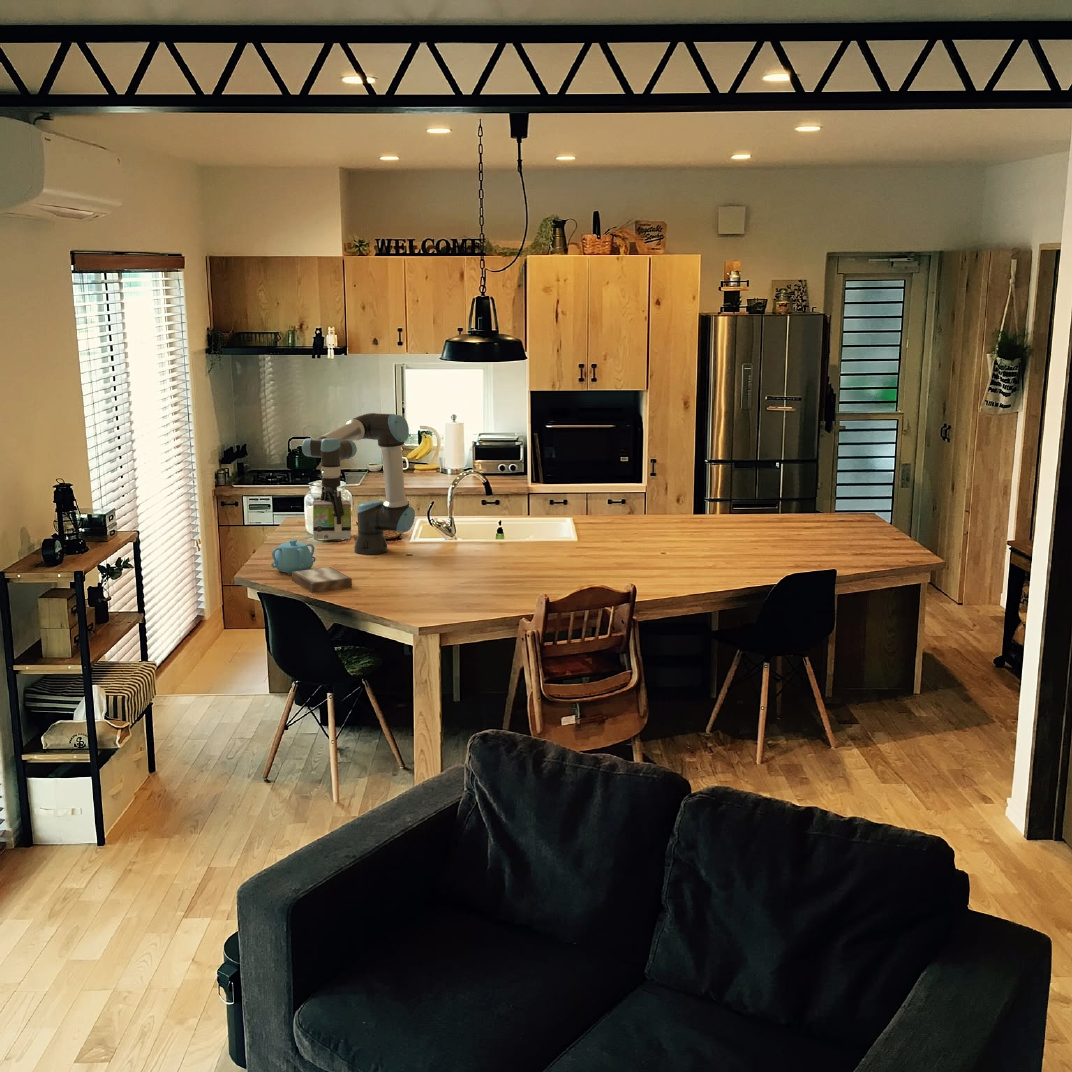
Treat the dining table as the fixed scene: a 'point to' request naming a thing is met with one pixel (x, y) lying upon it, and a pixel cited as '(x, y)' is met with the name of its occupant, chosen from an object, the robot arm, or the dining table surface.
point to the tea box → (330, 520)
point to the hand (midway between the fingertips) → (331, 529)
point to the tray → (321, 579)
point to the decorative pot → (293, 557)
